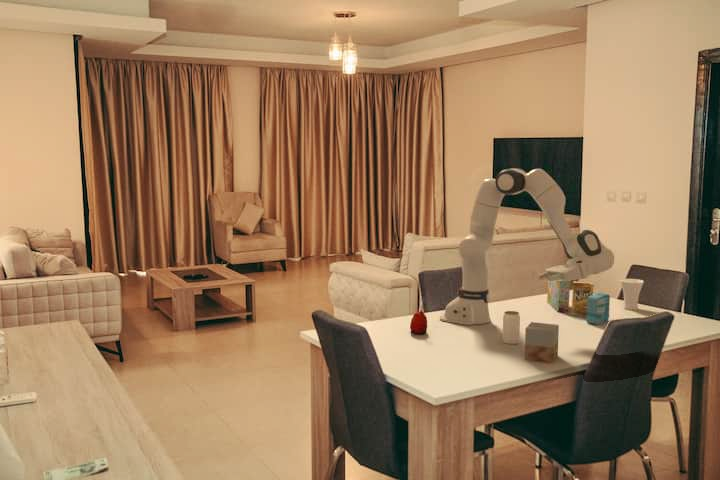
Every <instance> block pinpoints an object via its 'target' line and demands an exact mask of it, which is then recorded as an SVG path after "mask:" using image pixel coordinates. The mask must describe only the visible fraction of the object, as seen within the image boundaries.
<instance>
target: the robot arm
mask: <svg viewBox="0 0 720 480" xmlns="http://www.w3.org/2000/svg"><path fill="white" fill-rule="evenodd" d="M525 192H527V193H528V194H529V195H530V196H531V197H532V198H533V200H534V201H535V203H537V205H538V207H539V208H540V210H541V211H542V212H543V214H544V216H545V218H546V220H547V222H548V223H549V225H550V227H551V229H552V230H553V232H554V233H555V234H556V236H557V237H558V239H559V241H560V242H561V244H562V247H563V250H564V253H565V256H566V257H567V261H566V263H564V265H563V264H562V265H559V264H558V265H555V266H552V267H549V268H548V267H547V268H546V269H544V272H543V273H541V274H539V275H537V276H538V279H539V280H545V279H546V278H547V280H548V279H549V281H555V280H564V281H570V282H571V281H578V280H584V279H587V278H589V276H592V275H597V274H601V273H604V272H606V271H608V270H610V269H612V267H613V266H614V263H615V256H614V253H613V251H612V250H611V249H610V248H608V247H606V246H605V245H604V244H603V242H602V241H601V240H600V238H599V236H598V234H597V233H595V232H594V231H593V230H589V229H583V230H581V231H579V232H578V233H577V234H575V233H574V231H573V230H572V228H571V226H570V225H569V223H568V221H566V218H565V206H566V200H567V199H566V196H565V194H564V191H563V190H562V188H561V186H559V185H558V183H557V182H556V181H555V179H553V178H552V176H551V175H549V174H548V173H547V172H546V171H545V170H544V169H542V168H535V169H531V170H530V171H529V172H527V171H526V170H524V169H522V168H516V167H513V168H511V167H510V168H507V169H503V170H501V171H500V172H499V173H498V174H497V176H496V178H490V177H489V178H486V179H484V180H482V182H481V184H480V186H479V188H478V190H477V194H476V197H475V201H474V202H473V207H472V211H471V213H470V222H469V223H470V225H469V232H468V235H467V236H465V237H464V238H462V239H461V241H460V242H459V245H458V254H459V255H460V263H461V271H462V286H461V287H460V288H459V289H458V290H457V297H456V298H455V299H453V300H451V301H450V302H449V303H448V304H446V306H445V309H444V313H442V314H441V315H440V316H439V321H442V322H448V323H454V324H459V325H460V324H461V325H467V326H472V325H473V326H474V325H484V324H488V323H490V322H491V321H492V319H491V315H490V312H489V311H490V310H489V301H490V295H489V294H490V293H489V292H490V291H489V289H488V285H489V272H488V269H487V262H486V255H488V254H489V253H490V251H491V249H492V246H493V241H494V234H495V227H496V223H497V219H498V215H499V212H500V207H501V204H502V201H503V198H504V197H505V196H506V195H507V196H511V195H512V196H513V195H518V194H522V193H525Z"/></svg>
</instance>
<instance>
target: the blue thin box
mask: <svg viewBox="0 0 720 480" xmlns="http://www.w3.org/2000/svg"><path fill="white" fill-rule="evenodd" d="M610 299H611V298H610V295H609V294H607V293H603V292H602V293H601V292H599V293H594V294H593V295H591V296H589V297H588V299H587V316H586V323H587V324H592V325H600V324H602V322H603V323H605V321H606V322H608V320H610V319H609V318H610V301H611V300H610Z"/></svg>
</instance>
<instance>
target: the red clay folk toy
mask: <svg viewBox="0 0 720 480" xmlns="http://www.w3.org/2000/svg"><path fill="white" fill-rule="evenodd" d="M420 301H421V302H422V305H421V306H420V308H421V310H420V311H418V312H415V313H414V314H413V316H412V318H411V321H410V326H409V329H410V334H412V333H414V334H415V335H418V334H419V335H425V334H427V330H428V320H427V319H428V318H427V316H426V314H425V313H424V311H423V309H424V304H427V303H428V301H427V300H426V298H424V299H423V300H420Z"/></svg>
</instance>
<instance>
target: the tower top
mask: <svg viewBox="0 0 720 480" xmlns="http://www.w3.org/2000/svg"><path fill="white" fill-rule="evenodd" d="M559 328H560V324H554V323H543V322H532V321H531V322H530V323H529V324H528V325H527V326H526V327H525V333H524V334H525V335H524V336H525V337H524V340H525V341H524V346H525V345H534V346H542V347H551V348H553V347H554V346H555V345H556V343H557V342H558V343H559Z"/></svg>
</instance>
